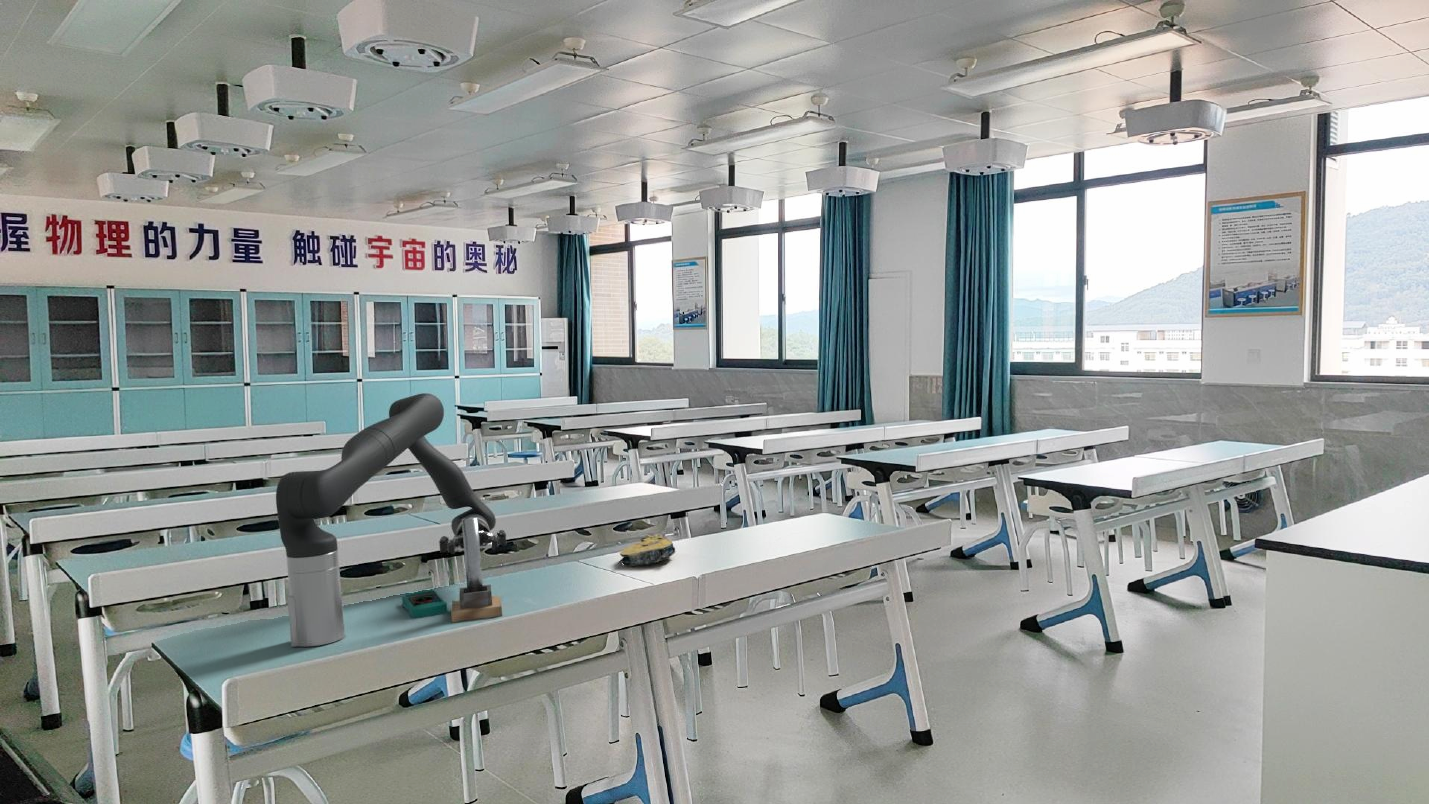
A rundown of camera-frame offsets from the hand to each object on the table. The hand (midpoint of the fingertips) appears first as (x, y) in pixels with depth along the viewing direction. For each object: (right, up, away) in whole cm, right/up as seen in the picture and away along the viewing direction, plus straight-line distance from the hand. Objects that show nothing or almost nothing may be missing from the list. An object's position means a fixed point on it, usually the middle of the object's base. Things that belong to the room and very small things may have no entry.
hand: (473, 547), depth 201 cm
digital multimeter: (-11, -14, +3) cm, 19 cm away
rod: (+2, -11, -4) cm, 12 cm away
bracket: (+2, -13, -4) cm, 14 cm away
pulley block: (+36, -10, +43) cm, 56 cm away
